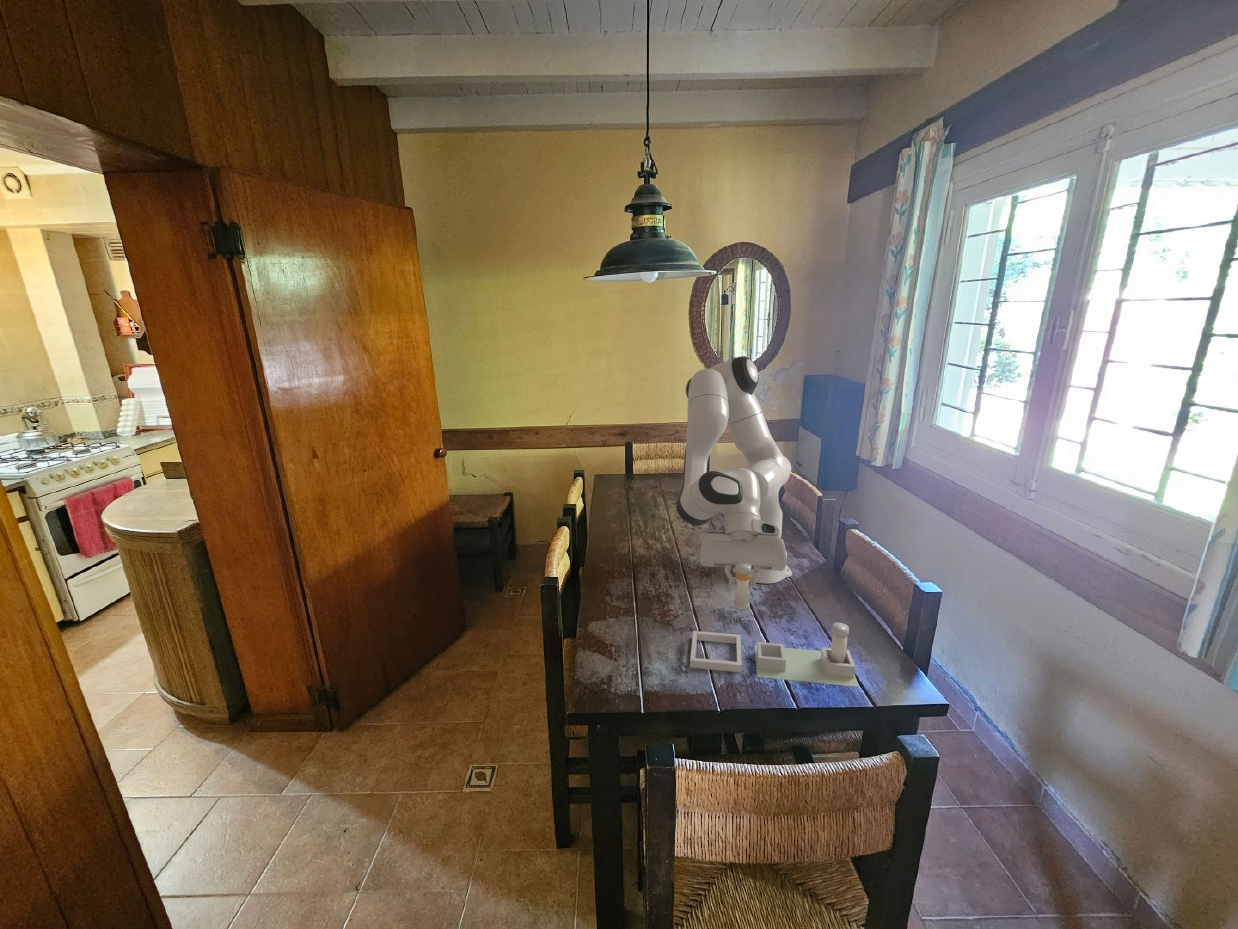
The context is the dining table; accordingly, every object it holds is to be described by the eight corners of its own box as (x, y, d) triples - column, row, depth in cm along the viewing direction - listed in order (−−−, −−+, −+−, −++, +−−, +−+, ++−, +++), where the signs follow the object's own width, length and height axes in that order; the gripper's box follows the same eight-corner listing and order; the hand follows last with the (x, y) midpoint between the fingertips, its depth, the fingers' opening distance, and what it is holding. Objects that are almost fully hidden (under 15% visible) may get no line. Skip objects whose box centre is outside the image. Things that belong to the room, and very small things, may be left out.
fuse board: (754, 648, 129) (754, 634, 128) (846, 656, 124) (848, 642, 123) (757, 680, 117) (757, 665, 116) (858, 690, 113) (860, 675, 112)
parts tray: (693, 640, 133) (693, 630, 132) (740, 645, 130) (740, 634, 129) (690, 671, 121) (690, 660, 121) (741, 676, 119) (741, 665, 118)
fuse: (827, 662, 121) (830, 622, 118) (843, 663, 120) (847, 623, 117) (830, 672, 118) (833, 631, 115) (846, 673, 117) (850, 632, 114)
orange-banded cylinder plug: (733, 602, 122) (735, 561, 119) (748, 603, 121) (750, 562, 118) (733, 610, 119) (735, 568, 116) (749, 612, 118) (751, 569, 115)
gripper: (699, 523, 124) (697, 579, 117) (786, 527, 120) (789, 585, 113) (700, 533, 129) (697, 586, 123) (783, 537, 125) (785, 592, 119)
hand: (742, 586), depth 118 cm, fingers closed on orange-banded cylinder plug, 3 cm apart
